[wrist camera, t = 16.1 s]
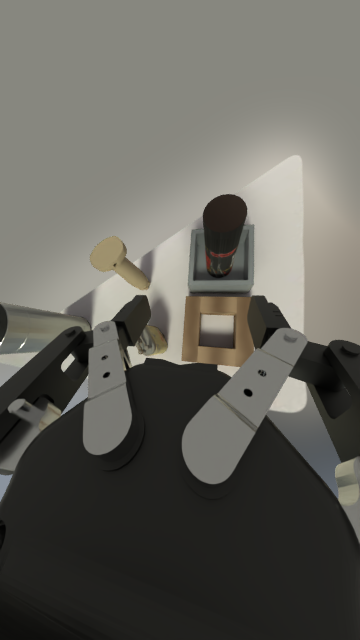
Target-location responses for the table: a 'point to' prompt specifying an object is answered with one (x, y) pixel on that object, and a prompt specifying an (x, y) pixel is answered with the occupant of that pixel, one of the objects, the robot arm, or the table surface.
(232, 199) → the deodorant
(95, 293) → the table surface
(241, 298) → the holder
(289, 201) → the table surface
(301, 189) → the table surface
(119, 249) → the handle
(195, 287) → the bin
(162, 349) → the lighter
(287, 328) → the robot arm
